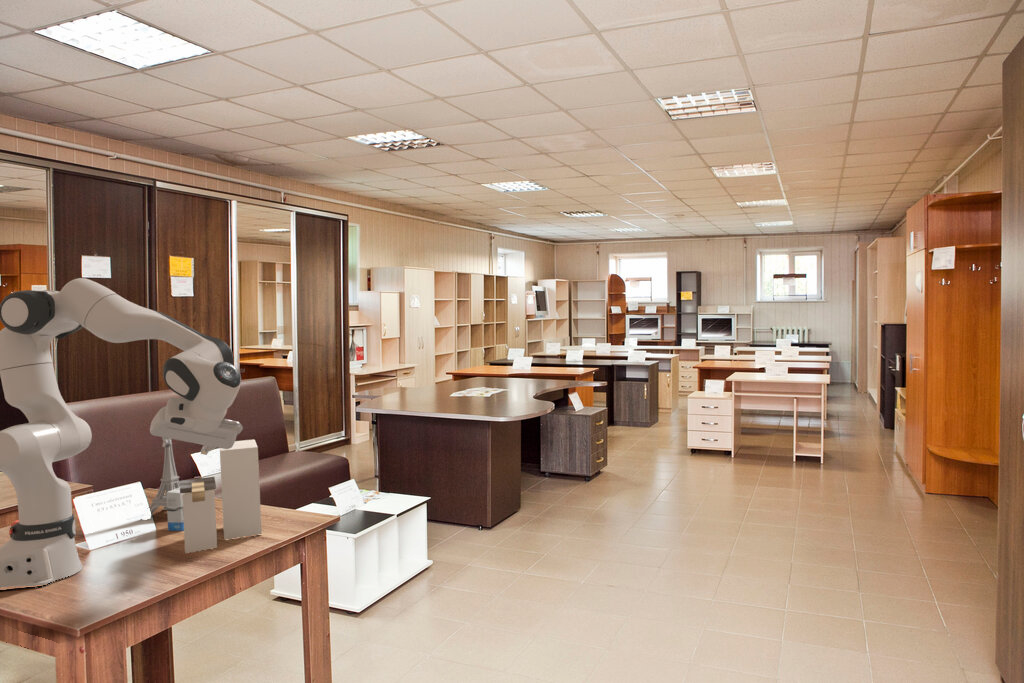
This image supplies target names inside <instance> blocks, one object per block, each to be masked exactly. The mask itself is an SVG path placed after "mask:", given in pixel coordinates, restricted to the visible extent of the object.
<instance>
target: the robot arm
mask: <svg viewBox="0 0 1024 683" xmlns="http://www.w3.org/2000/svg"><path fill="white" fill-rule="evenodd" d="M0 322H1V324H2V325H3V326H4V328H2V329H1V330H0V380H1V386H2V390H3V394H4V399H5V401H6V403H7V404H8V405H10V406H11V407H14V408H16V409H18V410H20V411H21V412H22V413H23V415H24V416H25V417H26V419H27V420H28V423H27V422H26V423H23V424H16V425H13V426H9V427H7V428H5V429H1V430H0V472H1V473H3V475H5V476H6V477H7V478H8V480H9V481H10V482H11V483H12V486H13V488H14V490H15V495H16V499H17V511H18V519H16V520H14V521H13V522H12V523H11V526H10V527H9V530H8V532H9V533H8V535H9V537H10V539H9V540H8V541H6V542H5V543H4V544H3V545H1V546H0V588H1V587H9V586H36V585H45V584H47V583H50V582H52V581H54V582H56V581H55V580H57V579H60V580H62V579H61V578H63V579H66V578H69V577H71V576H73V575H75V574H77V573H79V572H80V571H81V570H83V566H84V565H83V564H82V562H81V559H80V555H79V553H78V549H77V545H76V538H75V536H76V530H77V528H76V518H75V514H74V513H73V510H72V509H73V505H72V489H71V486H70V484H69V483H68V482H67V481H65V480H64V479H62V478H59V477H57V475H56V474H55V472H54V469H53V463H55V462H59V461H63V460H67V459H70V458H72V457H74V456H77V455H79V454H80V453H81V452H84V451H85V450H87V449H88V448H89V446H90V445H91V442H92V438H93V434H92V429H91V426H90V425H89V423H88V422H86V421H85V420H84V419H83V418H81V417H79V416H77V415H76V414H75V413H74V412H73V411H72V410H71V409H70V407H69V406H68V405H67V403H66V402H65V400H64V398H63V396H62V395H61V394H62V393H61V392H60V389H59V384H58V381H57V377H56V372H55V367H54V363H53V358H52V355H51V354H52V353H51V349H50V348H51V347H50V346H51V343H52V340H54V339H59V340H62V339H64V338H66V337H67V336H69V335H72V334H73V333H76V332H78V331H80V330H82V329H85V330H87V331H89V332H90V333H91V334H92V335H94V336H96V337H97V338H99V339H102V340H103V341H106V342H109V343H112V344H113V343H114V344H121V343H122V344H123V343H129V342H135V341H142V340H159V341H163V342H167V343H168V344H170V345H172V346H174V347H176V348H178V349H180V350H181V352H180V353H178V354H175V355H174V356H172V357H170V358H168V359H167V360H165V362H164V364H163V366H162V377H163V381H164V383H165V385H166V386H167V387H168V388H169V389H170V390H171V391H172V392H173V393H174V394H177V395H178V396H180V397H171V398H168V400H167V403H166V405H165V406H163V407H161V408H160V409H159V410H158V412H157V413H156V414H155V416H154V417H153V418H152V420H151V422H150V426H149V432H150V434H151V435H152V436H154V437H159V438H161V440H162V441H163V442H162V448H165V447H166V448H169V446H170V445H171V441H172V440H176V441H181V442H185V443H193V444H197V445H202V447H201V449H200V455H204V456H205V455H206V456H207V455H208V453H209V452H211V451H213V450H215V449H217V448H218V449H220V448H223V449H230V448H232V447H233V445H234V442H235V441H237V436H238V435H240V434H241V433H242V431H243V429H244V426H243V425H242V424H241V423H240V422H239V421H237V420H231V419H229V418H228V419H227V418H225V417H226V414H227V412H228V409H229V408H230V407H231V406H232V405H233V403H234V401H235V399H236V397H237V395H238V393H239V390H240V388H241V385H242V375H241V372H240V370H239V369H238V368H237V367H236V366H235V365H234V361H235V360H234V359H235V358H234V357H235V356H234V353H233V350H232V349H231V347H230V346H229V345H228V344H227V343H226V342H225V341H224V340H222V339H220V338H218V337H214V336H212V335H211V336H210V335H207V334H204V333H202V332H200V331H198V330H196V329H194V328H193V327H190V326H189V325H187V324H185V323H183V322H181V321H179V320H177V319H175V318H174V317H172V316H170V315H168V314H165V313H164V312H161V311H158V310H154V309H150V308H147V307H144V306H140V305H139V304H136V303H135V302H132V301H129V300H127V299H126V298H124V297H122V296H121V295H119V294H117V293H116V292H115V291H113V290H111V289H110V288H108V287H107V286H105V285H102V284H100V283H98V282H96V281H94V280H92V279H89V278H85V277H78V278H74V279H72V280H70V281H68V282H67V283H65V285H64V286H63V287H62V288H61V290H60V291H58V290H50V289H45V290H31V289H29V290H27V289H25V290H19V291H15V292H12V293H9V294H7V295H6V296H4V298H3V299H2V301H1V302H0ZM169 438H170V439H169ZM68 576H69V577H68ZM65 577H66V578H65ZM57 581H58V580H57ZM52 583H53V582H52ZM50 584H51V583H50Z"/></svg>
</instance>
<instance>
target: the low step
mask: <svg viewBox="0 0 1024 683" xmlns="http://www.w3.org/2000/svg"><path fill="white" fill-rule="evenodd" d="M215 490H216V489H212V490H205V501H199V502H192V492H188V493H183V494H182V498H183V519H184V530H183V534H184V535H183V538H184V554H190V552H191V553H196V551H198V552H202V551H201V550H204V551H207V550H206V549H211V548H216V547H217V548H218V537H217V536H218V535H217V534H218V533H217V516H216V515H217V514H216V513H217V512H216V495H215V494H216V493H215ZM211 550H212V549H211Z"/></svg>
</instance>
